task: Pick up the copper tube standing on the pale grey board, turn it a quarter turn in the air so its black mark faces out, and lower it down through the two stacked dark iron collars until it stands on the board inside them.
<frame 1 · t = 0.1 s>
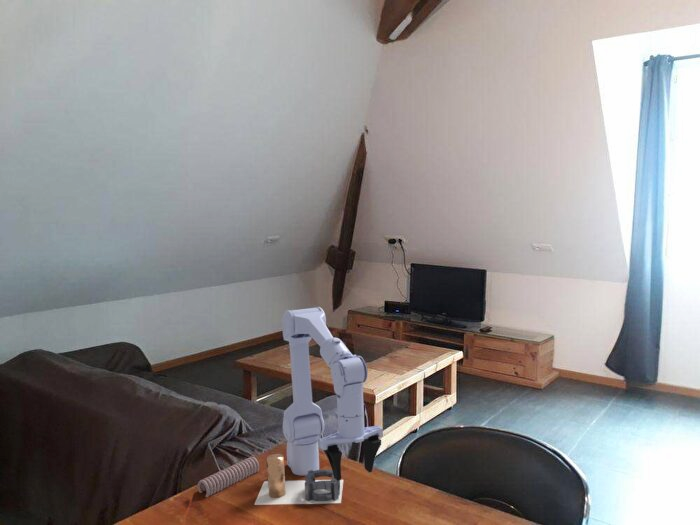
hand: (353, 474, 123), 10 cm above the table, fingers open, 7 cm apart
base board: (300, 495, 135), on the table
collar stand: (323, 497, 134), resting on base board
coil: (230, 486, 142), on the table
tube: (277, 494, 134), point 1 cm above the table, touching base board
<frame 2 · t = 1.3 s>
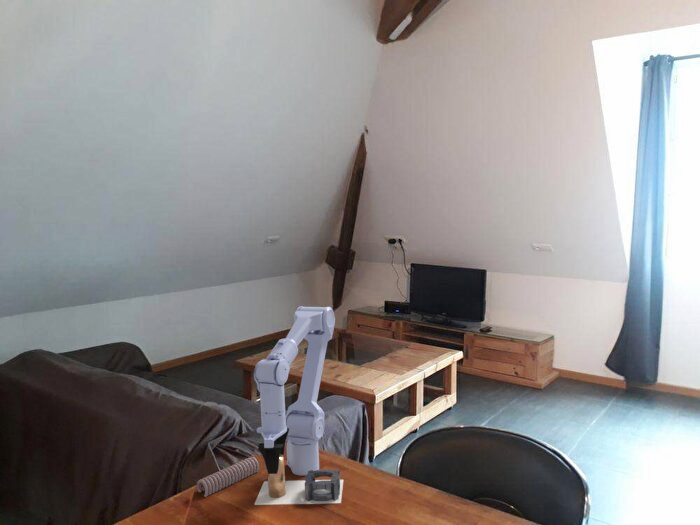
hand: (275, 466, 134), 8 cm above the table, fingers open, 7 cm apart
nothing on the table moved.
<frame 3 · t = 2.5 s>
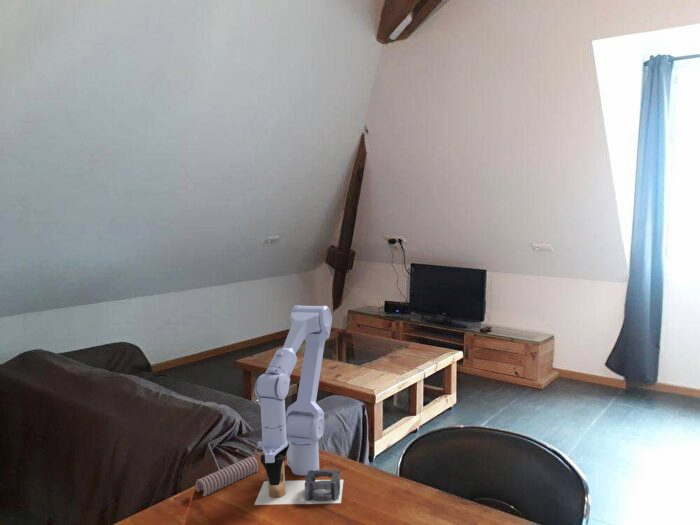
hand: (276, 480, 134), 4 cm above the table, fingers closed on tube, 4 cm apart
tube: (277, 494, 134), point 1 cm above the table, touching base board, gripper
everything else where it was.
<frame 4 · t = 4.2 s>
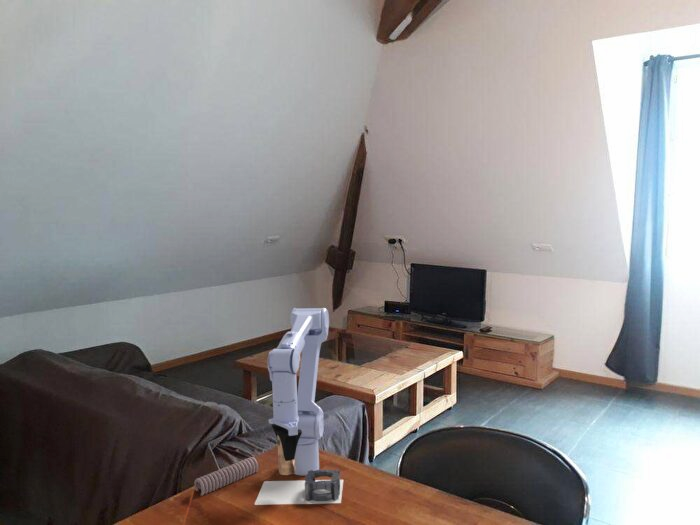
hand: (287, 456, 133), 10 cm above the table, fingers closed on tube, 4 cm apart
tube: (287, 471, 133), point 7 cm above the table, touching gripper
everything else where it was.
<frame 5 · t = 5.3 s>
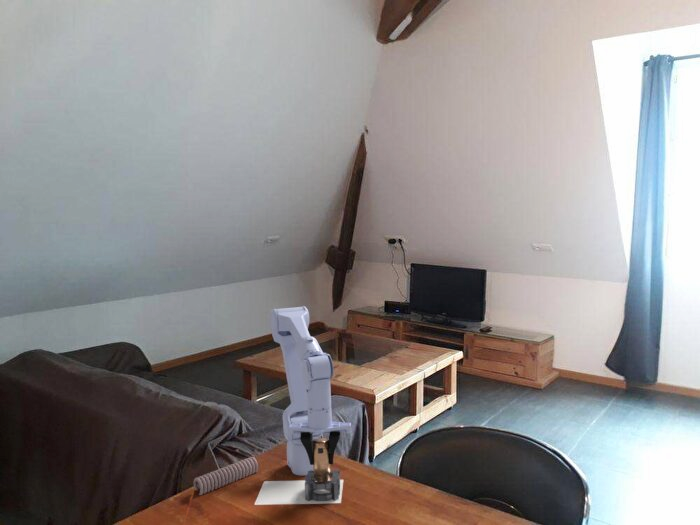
hand: (321, 462, 133), 8 cm above the table, fingers closed on tube, 4 cm apart
tube: (322, 478, 133), point 5 cm above the table, touching gripper
when the fingers open (6 cm above the table, at t = 6.1 s): tube drops 2 cm, resting on base board.
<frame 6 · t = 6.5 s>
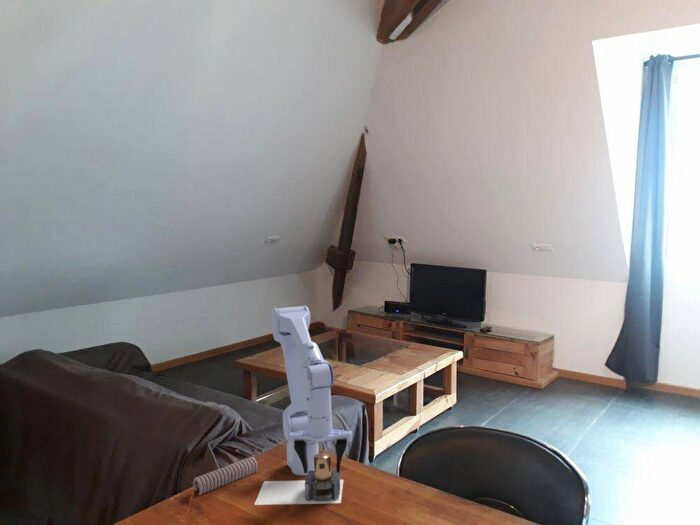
hand: (322, 470, 134), 6 cm above the table, fingers open, 7 cm apart
tube: (323, 493, 133), point 1 cm above the table, touching base board
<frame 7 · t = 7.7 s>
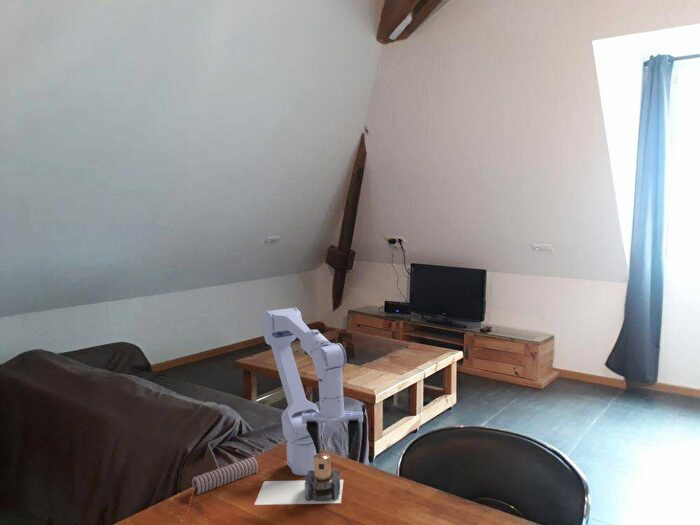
hand: (334, 451, 135), 10 cm above the table, fingers open, 7 cm apart
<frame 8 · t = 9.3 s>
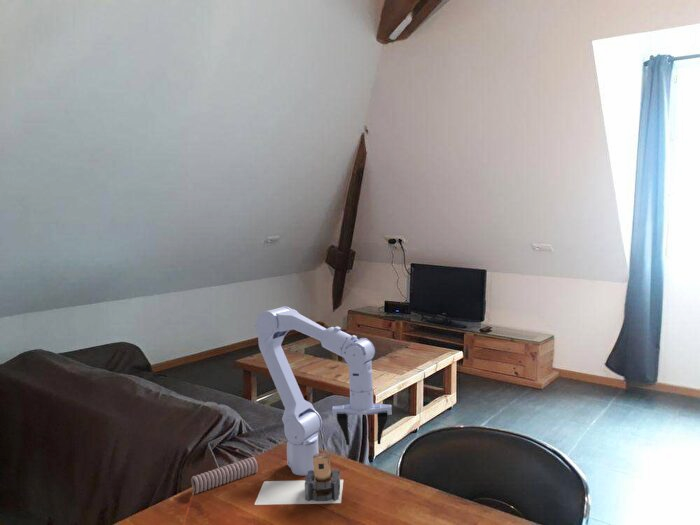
hand: (363, 443, 139), 10 cm above the table, fingers open, 7 cm apart
at the end: tube 0.4 cm off-centre on the collar stand, point 1.1 cm above the collar stand's base; tube tilted 1°; the gripper is holding nothing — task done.
